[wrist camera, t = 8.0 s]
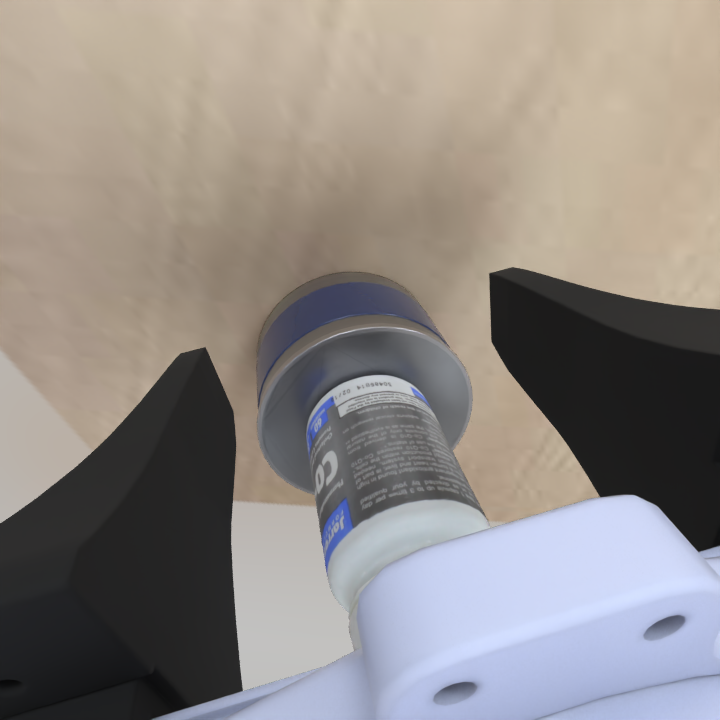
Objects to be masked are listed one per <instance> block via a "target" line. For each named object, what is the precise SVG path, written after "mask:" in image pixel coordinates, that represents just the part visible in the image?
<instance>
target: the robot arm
mask: <svg viewBox="0 0 720 720" xmlns="http://www.w3.org/2000/svg"><path fill="white" fill-rule="evenodd" d="M489 278H490V309H491V340H492V343H493V345H494V347H495V349H496V350H497V352H498V354H499V356H500V357H501V359H502V361H503V362H504V364H505V366H506V367H507V369H508V371H509V372H510V373H511V374H512V376H513V377H514V378H515V380H516V381H517V382H518V383H519V385H520V386H521V387H522V388H523V389H524V391H525V392H526V393H527V394H528V396H529V397H530V398H531V399H532V400H533V402H534V403H535V404H536V405H537V407H538V408H539V409H540V410H541V411H542V413H543V414H544V415H545V416H546V418H547V419H548V420H549V421H550V422H551V424H552V425H553V426H554V427H555V428H556V430H557V431H558V432H559V434H560V435H561V436H562V438H563V439H564V440H565V442H566V443H567V445H568V446H569V448H570V449H571V451H572V452H573V454H574V455H575V457H576V459H577V460H578V462H579V463H580V465H581V466H582V468H583V469H584V471H585V473H586V474H587V476H588V477H589V479H590V481H591V482H592V484H593V486H594V487H595V489H596V491H597V492H598V494H599V496H600V497H599V498H591V499H587V500H584V501H581V502H577V503H574V504H570V505H567V506H564V507H560V508H557V509H553V510H550V511H547V512H543V513H540V514H536V515H533V516H529V517H526V518H523V519H519V520H516V521H512V522H509V523H506V524H502V525H499V526H495V527H492V528H489V529H485V530H482V531H478V532H475V533H472V534H468V535H465V536H461V537H458V538H454V539H451V540H448V541H444V542H441V543H437V544H434V545H431V546H427V547H424V548H421V549H419V550H416V551H414V552H412V553H410V554H408V555H406V556H404V557H402V558H400V559H397V560H395V561H393V562H391V563H389V564H387V565H386V566H385V567H384V568H383V569H382V570H381V571H380V572H379V573H378V574H377V575H376V576H375V577H374V578H373V579H372V580H371V582H370V583H369V584H368V585H367V586H366V587H365V588H364V589H363V590H362V592H361V593H360V594H359V601H358V608H357V616H356V620H357V625H358V630H359V635H360V640H361V645H362V647H361V648H359V649H357V650H355V651H353V652H351V653H350V654H348V655H346V656H344V657H342V658H340V659H338V660H336V661H334V662H332V663H330V664H328V665H326V666H324V667H320V668H317V669H314V670H311V671H308V672H304V673H301V674H298V675H295V676H291V677H288V678H284V679H281V680H278V681H275V682H271V683H268V684H265V685H261V686H258V687H255V688H252V689H249V690H245V691H243V689H242V680H241V672H240V661H239V650H238V640H237V628H236V616H235V603H234V588H233V573H232V572H233V571H232V553H231V552H232V551H231V519H232V503H233V489H234V475H235V458H236V435H235V424H234V413H233V409H232V407H231V405H230V402H229V400H228V398H227V395H226V393H225V391H224V389H223V386H222V384H221V382H220V379H219V377H218V375H217V373H216V370H215V368H214V366H213V363H212V361H211V359H210V356H209V354H208V352H207V350H206V347H204V348H200V349H197V350H193V351H189V352H185V353H181V354H180V355H179V356H178V357H177V358H176V359H175V360H174V361H173V362H172V364H171V365H170V366H169V367H168V368H167V370H166V371H165V372H164V373H163V375H162V376H161V377H160V378H159V380H158V381H157V382H156V383H155V385H154V386H153V387H152V388H151V390H150V391H149V392H148V393H147V394H146V396H145V397H144V398H143V399H142V401H141V402H140V403H139V404H138V405H137V406H136V407H135V408H134V410H133V411H132V412H131V413H130V414H129V415H128V416H127V417H126V418H125V420H124V421H123V422H122V423H121V424H120V425H119V426H118V427H117V428H116V429H115V431H114V432H113V433H112V434H111V435H110V436H109V437H108V438H107V439H106V440H105V441H104V442H103V443H102V444H101V445H100V446H99V447H98V448H96V449H95V450H94V451H93V452H92V453H91V454H90V455H89V456H88V457H87V458H85V459H84V460H83V461H82V462H81V463H80V464H79V465H78V466H77V467H75V468H74V469H73V470H72V471H70V472H69V473H68V474H67V475H65V476H64V477H63V478H62V479H60V480H59V481H58V482H57V483H56V484H54V485H53V486H51V487H50V488H49V489H48V490H46V491H45V492H44V493H43V494H41V495H40V496H39V497H38V498H36V499H35V500H33V501H32V502H31V503H29V504H28V505H26V506H25V507H24V508H22V509H21V510H19V511H18V512H17V513H15V514H14V515H12V516H11V517H9V518H8V519H6V520H5V521H3V522H2V523H0V720H720V310H717V309H706V308H694V307H686V306H677V305H670V304H664V303H658V302H652V301H645V300H640V299H635V298H630V297H625V296H621V295H616V294H612V293H608V292H604V291H600V290H596V289H592V288H588V287H584V286H581V285H577V284H574V283H570V282H567V281H563V280H560V279H557V278H553V277H550V276H546V275H543V274H539V273H536V272H532V271H528V270H524V269H520V268H514V267H512V268H508V269H504V270H501V271H497V272H493V273H489Z"/></svg>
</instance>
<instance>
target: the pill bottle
mask: <svg viewBox="0 0 720 720" xmlns="http://www.w3.org/2000/svg"><path fill="white" fill-rule="evenodd" d="M306 439H307V447H308V454H309V460H310V466H311V474H312V482H313V488H314V494H315V501H316V507H317V513H318V518H319V525H320V532H321V538H322V545H323V552H324V558H325V566H326V572H327V577H328V581H329V585H330V588H331V591H332V593H333V595H334V597H335V599H336V600H337V601H338V603H339V604H340V605H341V606H342V607H343V608H344V609H345V610H346V611H348V612H349V633H350V637H351V640H352V644H353V648H354V651H355V650H357V649H359V648H361V647H362V645H361V640H360V635H359V630H358V625H357V620H356V616H357V608H358V601H359V594H360V593H361V592H362V590H363V589H364V588H365V587H366V586H367V585H368V584H369V583H370V582H371V580H372V579H373V578H374V577H375V576H376V575H377V574H378V573H379V572H380V571H381V570H382V569H383V568H384V567H385V566H386V565H387V564H389V563H391V562H393V561H395V560H397V559H400V558H402V557H404V556H406V555H408V554H410V553H412V552H414V551H416V550H419V549H421V548H424V547H427V546H431V545H434V544H437V543H441V542H444V541H448V540H451V539H454V538H458V537H461V536H465V535H468V534H472V533H475V532H478V531H482V530H485V529H489V528H491V527H490V524H489V522H488V520H487V518H486V516H485V514H484V512H483V510H482V508H481V507H480V504H479V502H478V500H477V499H476V497H475V495H474V493H473V491H472V489H471V487H470V485H469V483H468V481H467V479H466V477H465V475H464V473H463V471H462V469H461V467H460V465H459V463H458V461H457V459H456V457H455V455H454V453H453V451H452V449H451V447H450V445H449V443H448V441H447V439H446V437H445V435H444V433H443V431H442V429H441V427H440V425H439V423H438V421H437V419H436V417H435V414H434V413H433V411H432V409H431V407H430V405H429V404H428V402H427V400H426V399H425V397H424V396H423V394H422V393H421V392H420V391H419V390H418V389H417V388H416V387H415V386H413V385H412V384H411V383H409V382H407V381H405V380H403V379H400V378H397V377H394V376H388V375H371V376H364V377H359V378H356V379H352V380H350V381H347V382H344V383H342V384H340V385H338V386H337V387H335V388H334V389H332V390H331V391H329V392H328V393H327V394H326V395H325V396H324V397H323V398H322V399H321V400H320V401H319V402H318V403H317V405H316V406H315V408H314V409H313V411H312V413H311V415H310V417H309V420H308V424H307V432H306Z"/></svg>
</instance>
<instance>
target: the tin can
mask: <svg viewBox="0 0 720 720" xmlns="http://www.w3.org/2000/svg"><path fill="white" fill-rule="evenodd" d="M256 370H257V398H258V416H257V433H258V440H259V444H260V448H261V450H262V453H263V455H264V457H265V459H266V460H267V462H268V464H269V465H270V467H271V468H272V469H273V470H274V471H275V472H276V473H277V474H278V475H279V476H280V477H281V478H282V479H284V480H285V481H286V482H287V483H289V484H291V485H292V486H294V487H296V488H298V489H300V490H302V491H304V492H307V493H310V494H313V495H315V494H314V488H313V482H312V474H311V466H310V460H309V454H308V447H307V439H306V432H307V424H308V420H309V417H310V415H311V413H312V411H313V409H314V408H315V406H316V405H317V403H318V402H319V401H320V400H321V399H322V398H323V397H324V396H325V395H326V394H327V393H328V392H329V391H331V390H332V389H334V388H335V387H337V386H338V385H340V384H342V383H344V382H347V381H350V380H352V379H356V378H359V377H364V376H371V375H388V376H394V377H397V378H400V379H403V380H405V381H407V382H409V383H411V384H412V385H413V386H415V387H416V388H417V389H418V390H419V391H420V392H421V393H422V394H423V396H424V397H425V399H426V400H427V402H428V404H429V405H430V407H431V409H432V411H433V413H434V414H435V417H436V419H437V421H438V423H439V425H440V427H441V429H442V431H443V433H444V435H445V437H446V439H447V441H448V443H449V445H450V447H451V449H452V451H453V450H454V448H455V447H456V445H457V444H458V443H459V441H460V439H461V438H462V436H463V434H464V432H465V430H466V427H467V425H468V422H469V419H470V415H471V411H472V401H473V397H472V387H471V383H470V379H469V376H468V374H467V371H466V369H465V367H464V366H463V364H462V363H461V361H460V360H459V358H458V357H457V355H456V354H455V353H454V352H453V351H452V350H451V349H450V347H449V346H448V344H447V343H446V341H445V340H444V338H443V337H442V335H441V334H440V332H439V331H438V329H437V328H436V326H435V325H434V323H433V322H432V320H431V319H430V317H429V316H428V314H427V313H426V311H425V310H424V309H423V308H422V307H421V306H420V305H419V303H418V302H417V300H416V299H415V298H414V297H413V296H412V295H411V294H410V293H409V292H408V291H407V290H406V289H404V288H403V287H402V286H400V285H398V284H397V283H395V282H393V281H391V280H389V279H387V278H384V277H382V276H378V275H374V274H370V273H361V272H343V273H336V274H330V275H327V276H323V277H319V278H317V279H314V280H312V281H309V282H307V283H306V284H304V285H302V286H300V287H298V288H297V289H295V290H294V291H293V292H291V293H290V294H288V295H287V296H286V297H285V298H284V299H283V300H282V301H281V302H280V303H279V304H278V305H277V306H276V307H275V309H274V310H273V311H272V312H271V314H270V315H269V317H268V319H267V320H266V322H265V324H264V326H263V329H262V331H261V334H260V338H259V341H258V349H257V366H256Z"/></svg>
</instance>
